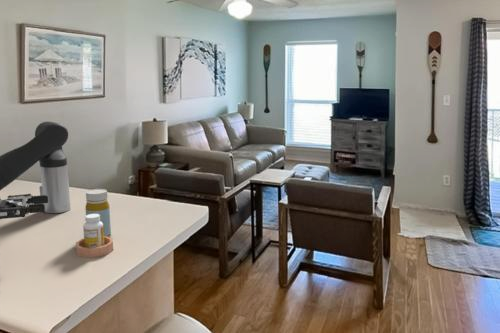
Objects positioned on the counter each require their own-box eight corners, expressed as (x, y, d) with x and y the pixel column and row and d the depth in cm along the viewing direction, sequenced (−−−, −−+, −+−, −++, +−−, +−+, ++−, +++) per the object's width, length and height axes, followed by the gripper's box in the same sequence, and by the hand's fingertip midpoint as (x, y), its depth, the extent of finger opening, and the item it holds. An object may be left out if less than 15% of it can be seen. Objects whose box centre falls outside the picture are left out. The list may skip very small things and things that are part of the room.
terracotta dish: (69, 255, 123) (68, 247, 122) (88, 242, 132) (87, 234, 132) (102, 258, 121) (101, 250, 121) (119, 245, 131) (118, 237, 130)
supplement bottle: (96, 242, 130) (94, 211, 128) (108, 246, 127) (106, 215, 125) (80, 248, 126) (78, 216, 124) (92, 252, 123) (90, 219, 121)
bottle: (91, 233, 140) (88, 188, 137) (113, 233, 141) (110, 188, 138) (84, 241, 133) (81, 194, 130) (108, 241, 134) (105, 194, 131)
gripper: (-14, 214, 121) (50, 208, 126) (-27, 231, 108) (45, 224, 113) (-17, 188, 120) (47, 183, 125) (-31, 202, 107) (42, 196, 112)
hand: (46, 203), depth 119 cm, fingers open, 8 cm apart
